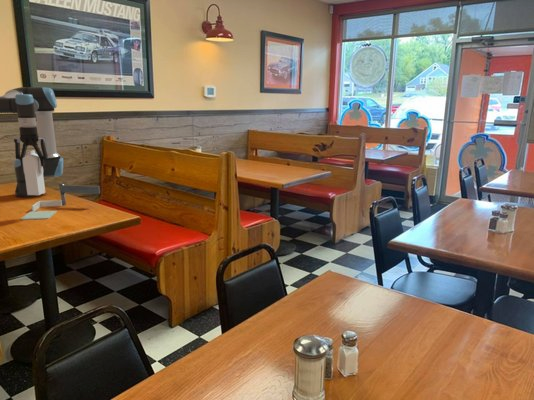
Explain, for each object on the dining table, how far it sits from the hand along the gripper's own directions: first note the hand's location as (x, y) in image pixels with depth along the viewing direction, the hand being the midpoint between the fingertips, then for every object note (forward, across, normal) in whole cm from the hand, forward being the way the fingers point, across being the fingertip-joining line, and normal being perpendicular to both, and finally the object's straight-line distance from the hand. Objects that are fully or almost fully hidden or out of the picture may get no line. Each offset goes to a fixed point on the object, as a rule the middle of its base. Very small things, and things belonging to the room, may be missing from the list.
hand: (33, 172), depth 207 cm
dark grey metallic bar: (+16, +16, +18) cm, 29 cm away
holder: (+23, 0, +15) cm, 27 cm away
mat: (+23, 0, 0) cm, 23 cm away
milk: (+11, 0, 0) cm, 11 cm away
